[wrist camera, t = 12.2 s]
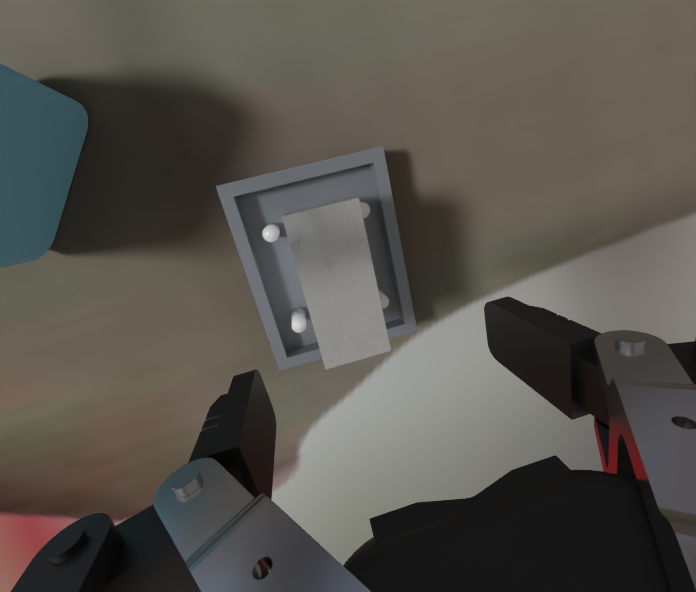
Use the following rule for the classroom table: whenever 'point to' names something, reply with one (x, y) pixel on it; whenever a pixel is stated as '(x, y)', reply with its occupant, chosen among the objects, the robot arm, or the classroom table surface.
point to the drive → (338, 280)
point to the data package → (35, 163)
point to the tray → (276, 256)
